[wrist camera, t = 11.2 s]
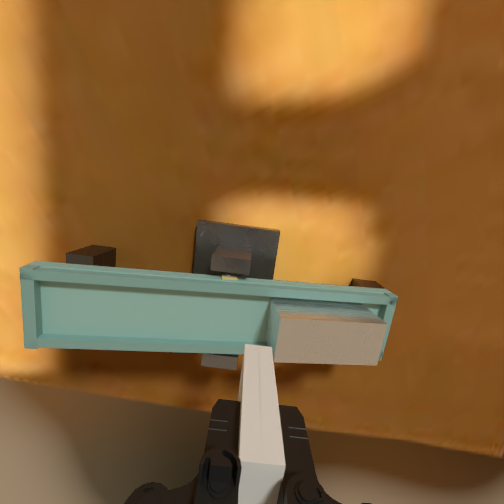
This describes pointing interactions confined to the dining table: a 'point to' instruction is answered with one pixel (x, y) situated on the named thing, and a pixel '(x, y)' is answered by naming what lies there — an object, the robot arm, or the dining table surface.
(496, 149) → the dining table surface
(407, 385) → the dining table surface
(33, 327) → the beam
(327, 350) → the block
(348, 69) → the dining table surface
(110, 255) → the stand
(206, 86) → the dining table surface
